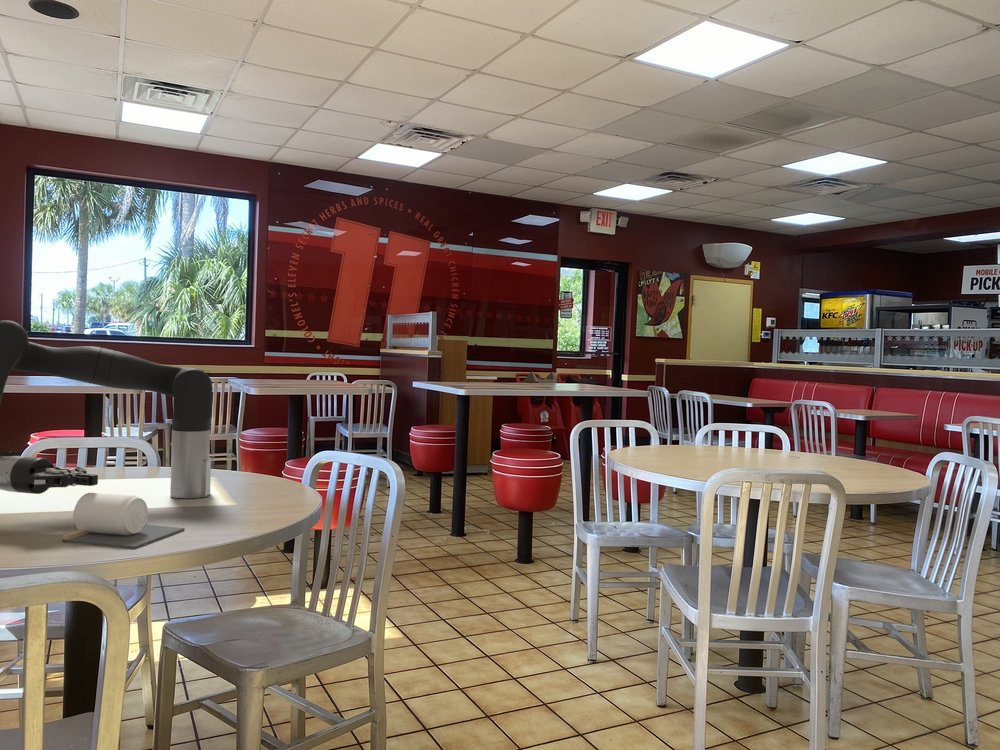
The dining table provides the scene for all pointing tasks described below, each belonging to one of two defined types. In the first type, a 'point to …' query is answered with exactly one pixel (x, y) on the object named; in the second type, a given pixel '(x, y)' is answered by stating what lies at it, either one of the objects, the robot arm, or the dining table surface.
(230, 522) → the dining table surface
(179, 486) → the robot arm
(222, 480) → the dining table surface
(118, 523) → the beverage can
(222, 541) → the dining table surface
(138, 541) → the mat
